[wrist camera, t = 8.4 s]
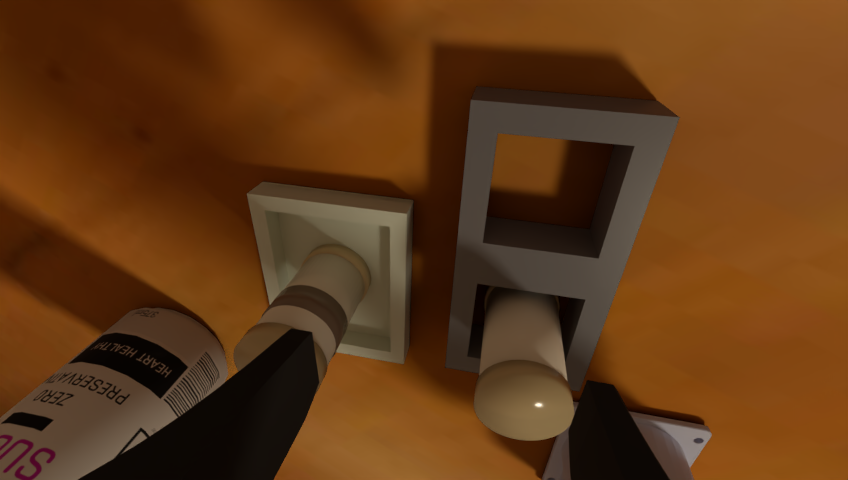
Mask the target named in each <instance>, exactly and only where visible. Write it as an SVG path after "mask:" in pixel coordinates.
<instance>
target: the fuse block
mask: <svg viewBox="0 0 848 480" xmlns="http://www.w3.org/2000/svg"><path fill="white" fill-rule="evenodd" d="M679 118H680V117H678V116H677V115H676V114H674V113H673V112H672V111H671V110H669V109H668V108H667V107H665V106H664V105H663V104H661V103H660V102H659V101H654V100H642V99H629V98H617V97H604V96H591V95H579V94H566V93H554V92H541V91H528V90H516V89H503V88H491V87H478V86H477V87H476V89H475V91H474V94H473V96H472V98H471V103H470V114H469V124H468V134H467V145H466V155H465V166H464V176H463V186H462V197H461V207H460V217H459V228H458V238H457V249H456V259H455V269H454V280H453V290H452V300H451V311H450V321H449V332H448V342H447V352H446V363H445V368H451V369H457V370H462V371H468V372H473V373H479V372H480V361H481V351H482V341H483V331H484V326H481V325H475V324H472V318H473V311H474V304H475V296H476V289H477V284H483V285H490V286H497V287H504V288H510V289H517V290H524V291H531V292H537V293H544V294H551V295H558V296H564V297H570V298H569V302H568V305H567V308H566V312H565V315H564V319H563V322H562V326H561V335H562V343H563V350H564V358H565V366H566V373H567V381H568V383H569V385H570V388H571V390H573V391H580V389H581V386H582V383H583V380H584V378H585V375H586V372H587V369H588V367H589V364H590V361H591V358H592V356H593V353H594V350H595V348H596V345H597V342H598V339H599V337H600V334H601V331H602V328H603V326H604V323H605V320H606V317H607V315H608V312H609V309H610V306H611V304H612V301H613V298H614V296H615V293H616V290H617V287H618V285H619V282H620V279H621V276H622V274H623V271H624V268H625V265H626V263H627V260H628V257H629V254H630V252H631V249H632V246H633V244H634V241H635V238H636V235H637V233H638V230H639V227H640V224H641V222H642V219H643V216H644V213H645V211H646V208H647V205H648V202H649V200H650V197H651V194H652V191H653V189H654V186H655V183H656V181H657V178H658V175H659V172H660V170H661V167H662V164H663V161H664V159H665V156H666V153H667V150H668V148H669V145H670V142H671V139H672V137H673V134H674V131H675V129H676V126H677V123H678V120H679ZM498 133H503V134H513V135H524V136H534V137H545V138H555V139H566V140H576V141H587V142H597V143H608V144H614V148H613V151H612V154H611V158H610V161H609V165H608V168H607V171H606V175H605V178H604V182H603V185H602V189H601V192H600V195H599V199H598V202H597V206H596V209H595V213H594V216H593V219H592V223H591V226H590V229H584V228H576V227H568V226H560V225H552V224H544V223H536V222H528V221H520V220H512V219H504V218H496V217H488V216H486V215H487V208H488V200H489V193H490V185H491V178H492V171H493V163H494V156H495V149H496V141H497V134H498Z"/></svg>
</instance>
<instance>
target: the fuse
mask: <svg viewBox="0 0 848 480" xmlns="http://www.w3.org/2000/svg"><path fill="white" fill-rule="evenodd" d="M484 308H485V321H484V331H483V341H482V351H481V361H480V372H479V377H478V379H477V382H476V387H475V396H474V409H475V412H476V415H477V416H478V418H479V419H480V421H481V422H482V423H483V424H484V425H485V426H487V427H488V428H489V429H491V430H492V431H494V432H496V433H498V434H500V435H503V436H505V437H508V438H512V439H517V440H526V441H535V440H544V439H548V438H552V437H554V436H557V435H559V434H561V433H562V432H563V431H565V430H566V429H567V428H568V427H569V426H570V424H571V422H572V419H573V417H574V406H573V398H572V392H571V388H570V385H569V383H568V381H567V373H566V366H565V358H564V350H563V343H562V335H561V327H560V320H559V310H560V304H559V296H558V295H551V294H544V293H537V292H531V291H524V290H517V289H510V288H504V287H497V286H490V285H488V286H487V288H486V292H485V301H484Z"/></svg>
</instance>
